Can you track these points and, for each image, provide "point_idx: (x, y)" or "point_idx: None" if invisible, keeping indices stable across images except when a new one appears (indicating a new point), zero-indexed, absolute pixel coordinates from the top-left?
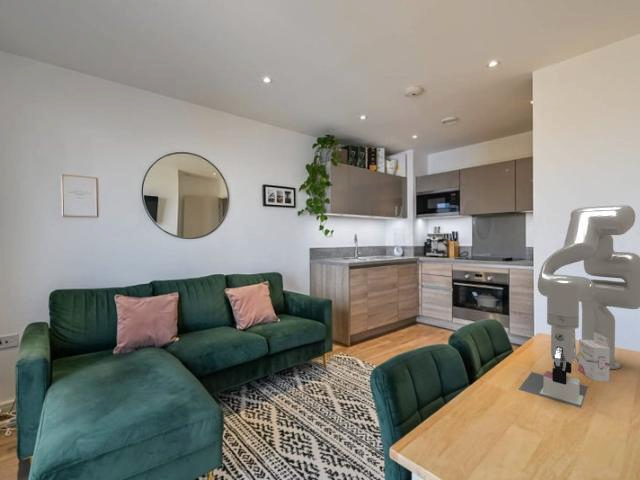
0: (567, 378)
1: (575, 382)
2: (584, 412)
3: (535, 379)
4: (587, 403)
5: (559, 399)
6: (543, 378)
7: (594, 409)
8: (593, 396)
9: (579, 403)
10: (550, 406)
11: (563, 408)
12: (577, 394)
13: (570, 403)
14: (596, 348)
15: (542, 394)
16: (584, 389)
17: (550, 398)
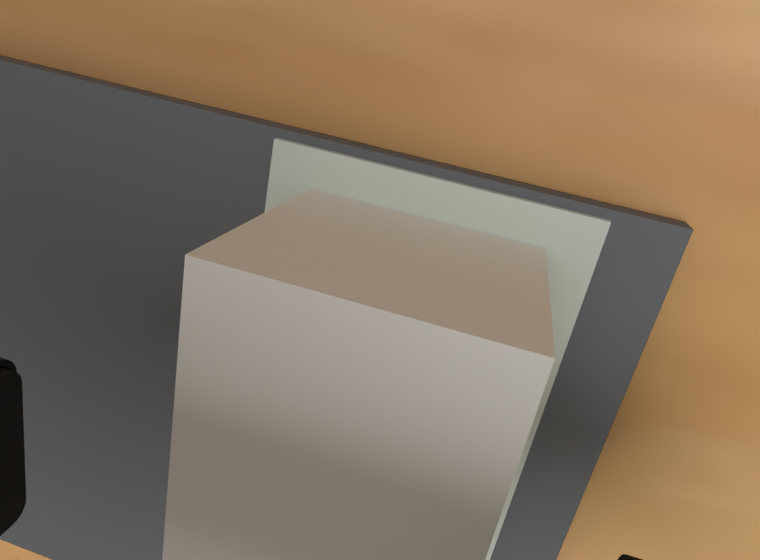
0: (291, 455)
1: (431, 369)
2: (743, 191)
3: (118, 530)
4: (409, 109)
5: (541, 420)
6: (35, 455)
7: (567, 50)
8: (131, 3)
9: (571, 229)
10: (743, 520)
11: (733, 403)
12: (547, 284)
13: (603, 326)
14: None
15: (491, 554)
16: (31, 89)
17: (568, 505)
